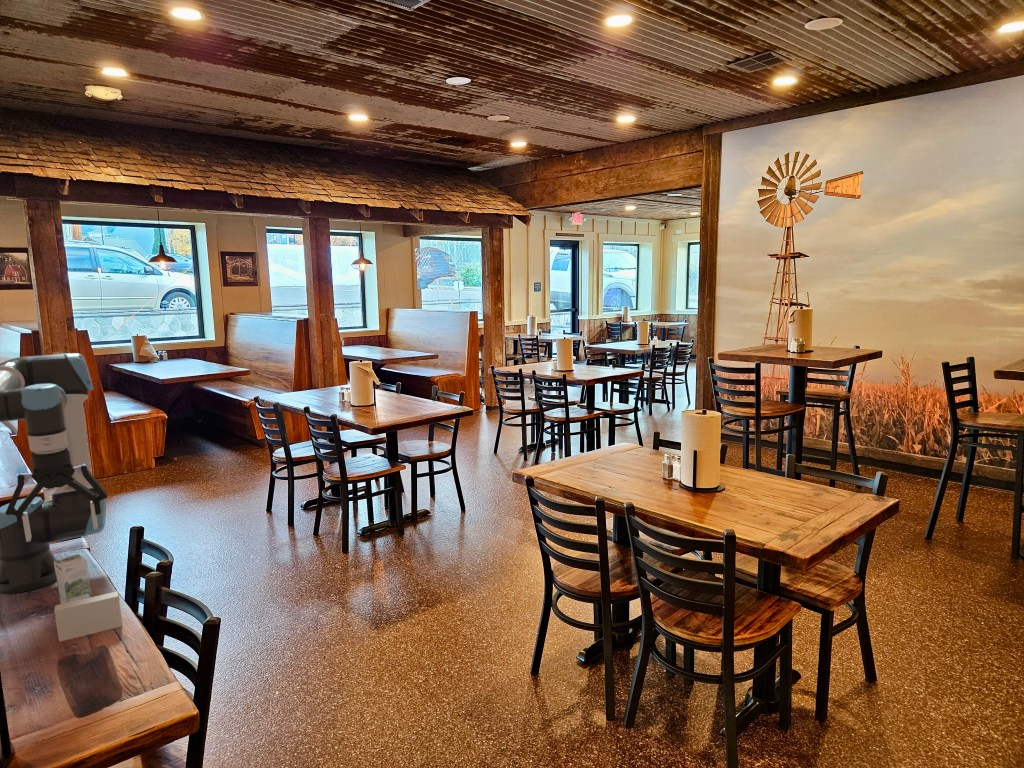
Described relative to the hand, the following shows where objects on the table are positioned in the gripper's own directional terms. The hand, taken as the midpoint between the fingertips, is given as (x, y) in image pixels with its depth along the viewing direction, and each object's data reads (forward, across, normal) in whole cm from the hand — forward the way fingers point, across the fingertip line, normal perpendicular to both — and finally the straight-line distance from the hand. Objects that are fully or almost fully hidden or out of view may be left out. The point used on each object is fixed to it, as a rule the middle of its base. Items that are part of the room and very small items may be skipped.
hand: (63, 533), depth 162 cm
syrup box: (+24, 0, +6) cm, 25 cm away
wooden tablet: (+24, +4, -30) cm, 38 cm away
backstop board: (+24, +3, -7) cm, 25 cm away
